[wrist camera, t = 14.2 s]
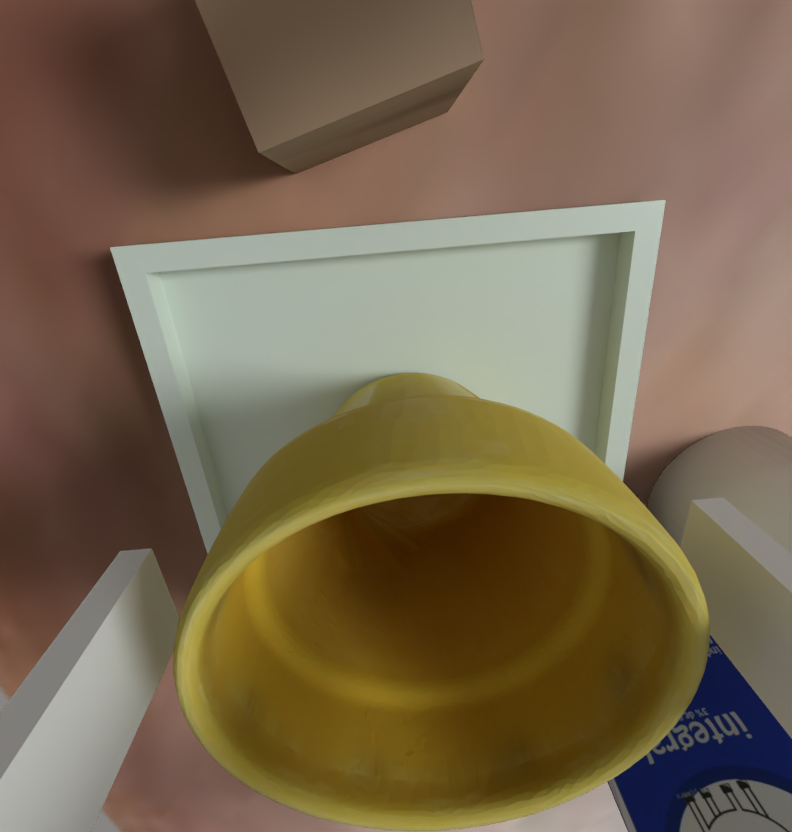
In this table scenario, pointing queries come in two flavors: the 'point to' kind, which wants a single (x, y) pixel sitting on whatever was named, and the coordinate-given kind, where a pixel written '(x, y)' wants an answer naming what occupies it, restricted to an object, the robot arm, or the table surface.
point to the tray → (390, 328)
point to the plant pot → (437, 618)
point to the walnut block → (340, 69)
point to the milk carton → (713, 764)
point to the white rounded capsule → (731, 480)
